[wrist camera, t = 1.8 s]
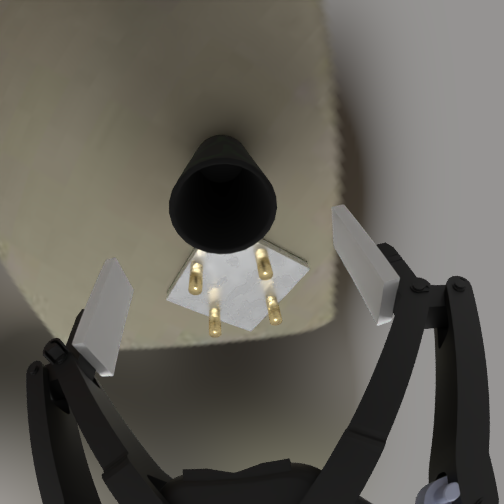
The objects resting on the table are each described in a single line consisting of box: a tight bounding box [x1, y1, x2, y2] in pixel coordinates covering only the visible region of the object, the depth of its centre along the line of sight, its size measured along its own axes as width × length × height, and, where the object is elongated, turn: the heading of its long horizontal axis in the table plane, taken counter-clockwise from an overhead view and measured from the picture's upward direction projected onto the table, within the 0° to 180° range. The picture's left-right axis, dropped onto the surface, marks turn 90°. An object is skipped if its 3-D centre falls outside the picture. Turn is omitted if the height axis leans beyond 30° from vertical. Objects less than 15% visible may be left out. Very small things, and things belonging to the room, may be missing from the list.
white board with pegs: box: [166, 239, 310, 338], centre depth 38 cm, size 14×14×6 cm
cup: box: [169, 135, 277, 254], centre depth 25 cm, size 8×8×12 cm
